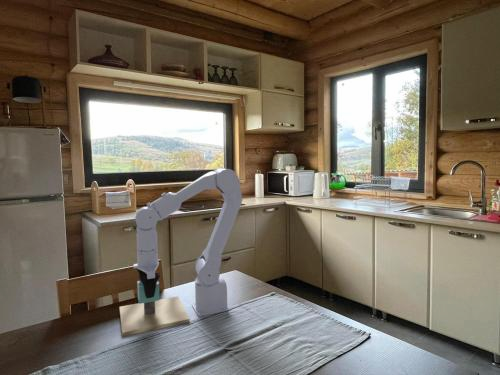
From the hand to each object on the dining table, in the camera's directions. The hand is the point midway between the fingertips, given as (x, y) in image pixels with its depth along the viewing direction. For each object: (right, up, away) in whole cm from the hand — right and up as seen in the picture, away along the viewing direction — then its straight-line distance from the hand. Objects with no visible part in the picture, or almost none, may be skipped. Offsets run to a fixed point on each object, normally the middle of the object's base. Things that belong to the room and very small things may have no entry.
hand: (148, 293), depth 97 cm
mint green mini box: (0, -2, 0) cm, 2 cm away
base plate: (+1, -7, +1) cm, 7 cm away
